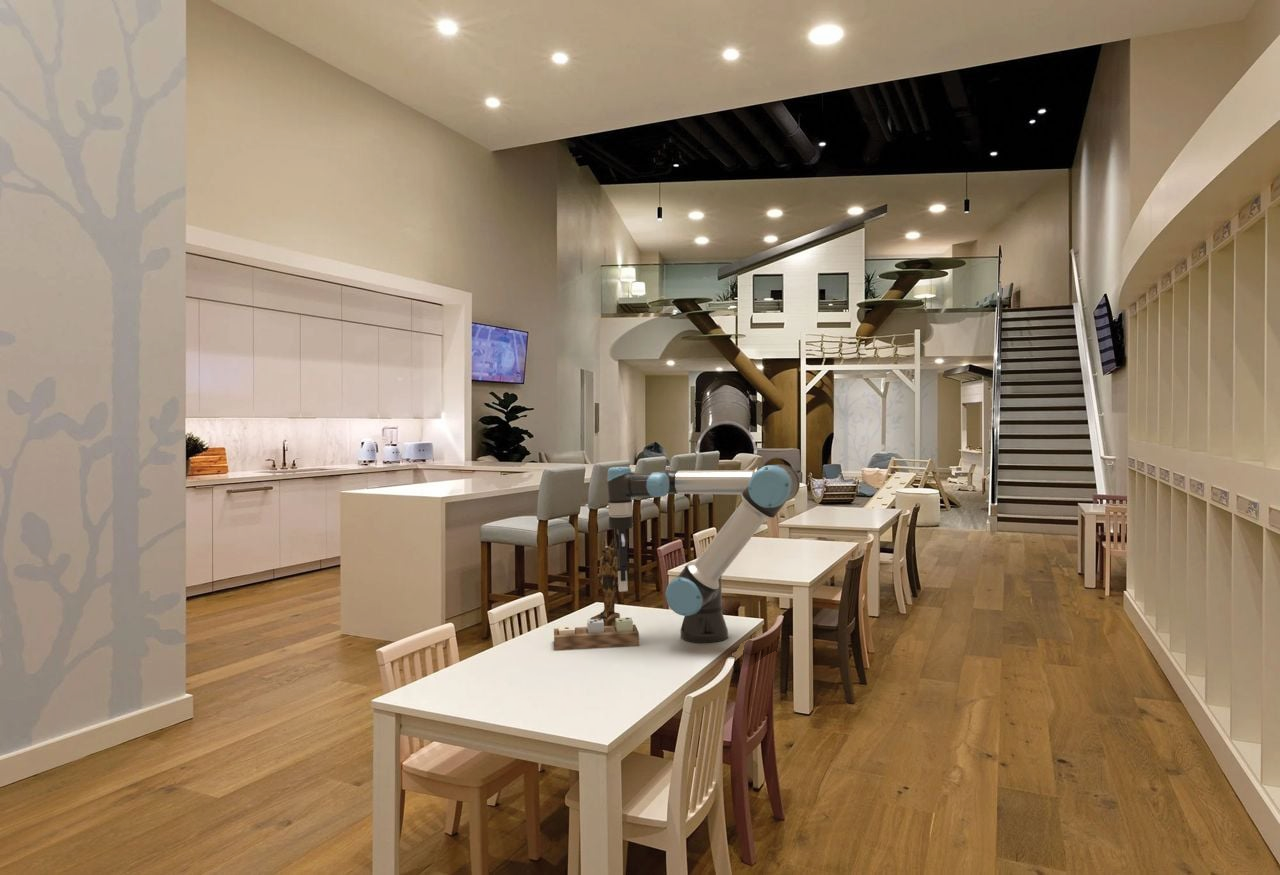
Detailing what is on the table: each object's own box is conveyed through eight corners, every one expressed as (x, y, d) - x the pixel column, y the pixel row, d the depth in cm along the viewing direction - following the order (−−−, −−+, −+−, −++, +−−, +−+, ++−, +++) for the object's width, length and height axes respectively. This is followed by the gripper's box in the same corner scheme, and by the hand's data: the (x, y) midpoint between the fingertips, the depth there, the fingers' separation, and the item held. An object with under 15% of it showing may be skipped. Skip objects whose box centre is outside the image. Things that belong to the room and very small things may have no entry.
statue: (589, 631, 268) (587, 541, 268) (603, 623, 278) (601, 537, 278) (611, 632, 265) (609, 542, 265) (624, 625, 275) (622, 537, 275)
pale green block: (631, 630, 256) (631, 616, 256) (633, 633, 251) (632, 620, 251) (615, 630, 255) (615, 617, 255) (617, 634, 250) (616, 621, 250)
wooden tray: (635, 636, 259) (634, 624, 259) (639, 645, 248) (638, 632, 248) (554, 641, 256) (553, 628, 256) (554, 650, 245) (554, 637, 245)
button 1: (574, 638, 254) (574, 625, 254) (575, 642, 249) (575, 629, 249) (558, 639, 253) (558, 626, 253) (559, 643, 248) (558, 630, 248)
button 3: (603, 631, 255) (602, 618, 255) (604, 635, 250) (603, 621, 250) (587, 632, 254) (587, 619, 254) (588, 636, 249) (587, 622, 249)
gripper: (606, 514, 259) (609, 587, 259) (610, 518, 246) (613, 595, 246) (630, 513, 260) (632, 586, 260) (634, 517, 247) (637, 594, 247)
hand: (623, 590), depth 253 cm, fingers closed
